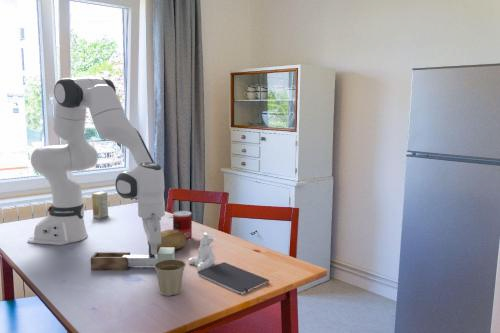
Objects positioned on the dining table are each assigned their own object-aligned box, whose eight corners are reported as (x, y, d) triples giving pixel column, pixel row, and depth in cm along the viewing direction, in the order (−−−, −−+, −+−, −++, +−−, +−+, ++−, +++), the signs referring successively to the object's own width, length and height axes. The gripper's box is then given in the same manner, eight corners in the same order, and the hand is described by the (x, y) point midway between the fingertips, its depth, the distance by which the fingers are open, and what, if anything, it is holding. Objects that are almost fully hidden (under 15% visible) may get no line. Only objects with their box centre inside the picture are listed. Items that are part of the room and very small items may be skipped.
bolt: (121, 266, 146) (121, 241, 145) (123, 263, 149) (123, 238, 148) (168, 266, 147) (168, 241, 146) (169, 263, 150) (169, 238, 149)
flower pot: (156, 285, 134) (156, 259, 133) (186, 284, 135) (186, 258, 134) (152, 298, 125) (151, 270, 124) (184, 298, 126) (184, 270, 125)
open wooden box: (91, 270, 145) (90, 257, 144) (96, 264, 150) (95, 252, 150) (126, 270, 146) (126, 257, 145) (130, 264, 151) (130, 252, 150)
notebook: (269, 284, 138) (223, 266, 152) (269, 279, 138) (224, 262, 152) (241, 296, 129) (196, 276, 143) (241, 292, 128) (196, 271, 143)
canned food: (193, 235, 184) (193, 211, 182) (189, 241, 176) (189, 216, 174) (176, 235, 185) (176, 210, 183) (171, 240, 177) (170, 215, 175)
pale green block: (157, 271, 145) (157, 253, 145) (160, 263, 152) (160, 247, 151) (172, 271, 146) (172, 253, 145) (174, 263, 152) (174, 247, 151)
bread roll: (193, 248, 169) (193, 228, 168) (162, 258, 158) (162, 237, 157) (177, 242, 175) (177, 223, 174) (147, 251, 164) (146, 231, 163)
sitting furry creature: (187, 263, 153) (186, 231, 151) (208, 258, 158) (208, 227, 156) (198, 272, 145) (198, 238, 144) (220, 267, 150) (221, 234, 148)
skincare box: (101, 214, 215) (100, 190, 213) (108, 215, 213) (107, 191, 211) (92, 217, 209) (91, 193, 207) (99, 218, 207) (98, 194, 205)
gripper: (165, 217, 137) (165, 258, 139) (156, 203, 156) (157, 239, 158) (145, 219, 135) (146, 260, 137) (139, 204, 154) (139, 241, 156)
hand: (152, 249), depth 148 cm, fingers open, 8 cm apart
